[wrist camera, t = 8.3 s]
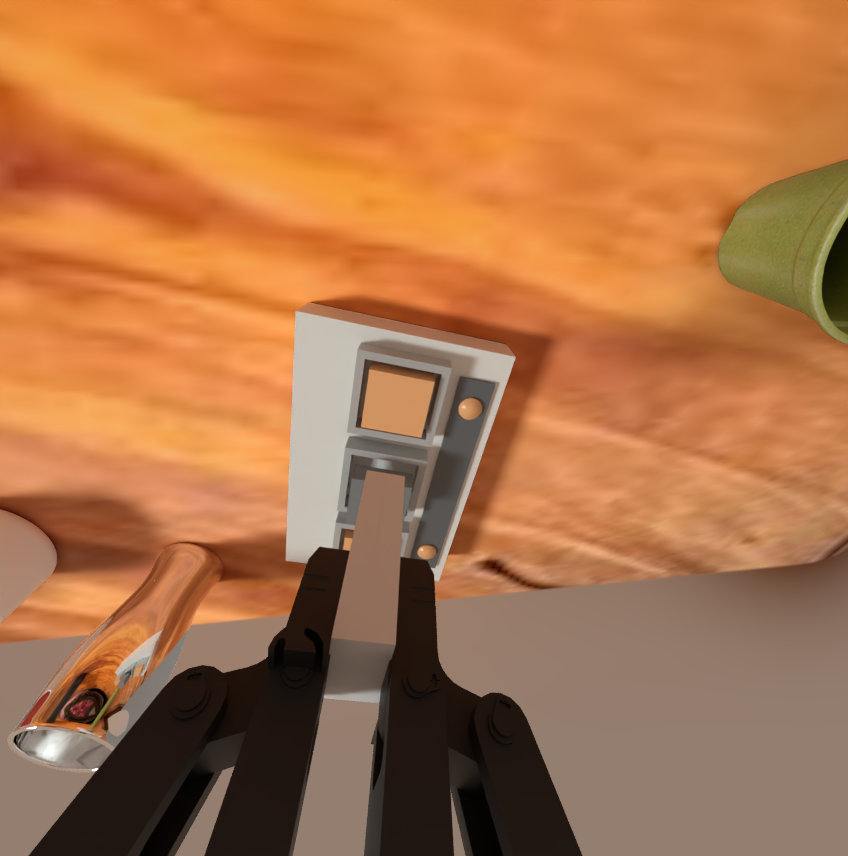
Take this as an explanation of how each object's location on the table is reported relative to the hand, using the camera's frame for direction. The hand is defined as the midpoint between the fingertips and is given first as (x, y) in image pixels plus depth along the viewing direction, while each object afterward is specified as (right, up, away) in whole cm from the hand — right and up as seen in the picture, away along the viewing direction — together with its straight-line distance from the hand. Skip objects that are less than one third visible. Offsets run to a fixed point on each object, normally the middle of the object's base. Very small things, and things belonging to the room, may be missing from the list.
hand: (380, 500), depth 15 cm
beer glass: (-22, -11, +22) cm, 33 cm away
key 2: (0, +5, +10) cm, 11 cm away
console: (-1, +1, +16) cm, 16 cm away
